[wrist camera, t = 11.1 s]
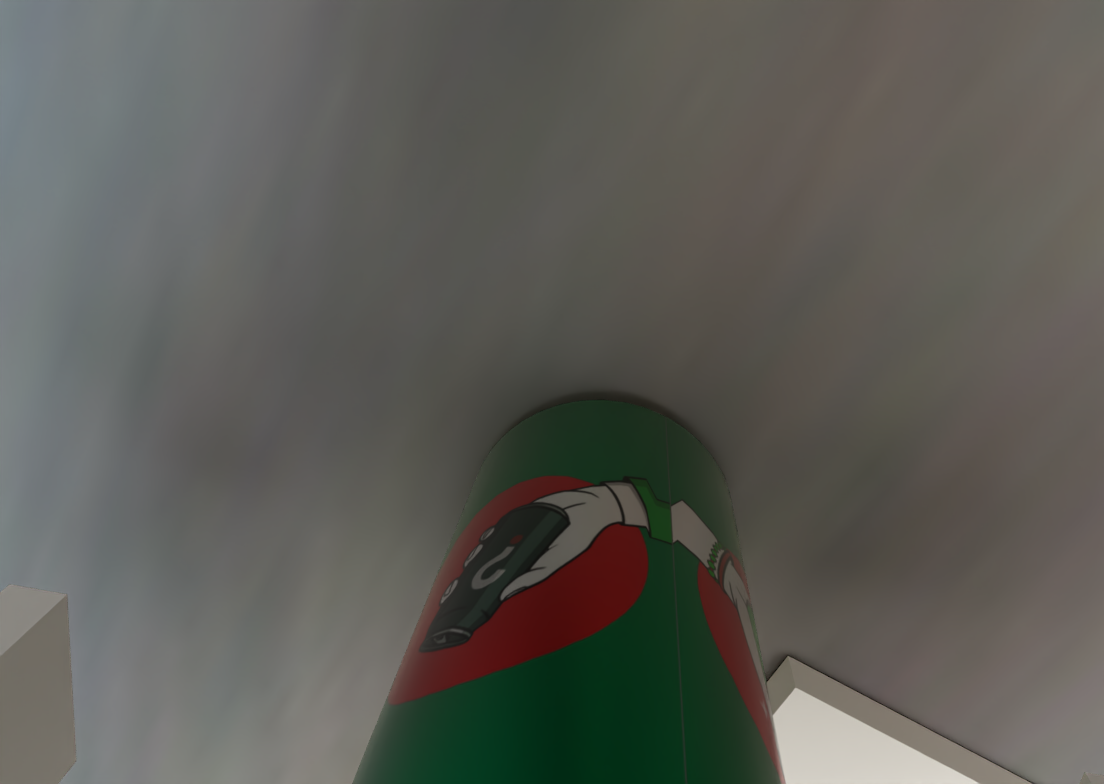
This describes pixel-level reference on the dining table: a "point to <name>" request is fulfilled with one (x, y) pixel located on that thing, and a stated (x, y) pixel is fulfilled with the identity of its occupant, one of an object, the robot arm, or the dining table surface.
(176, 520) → the dining table surface
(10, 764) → the robot arm
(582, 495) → the soda can
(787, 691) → the base plate
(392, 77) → the dining table surface
